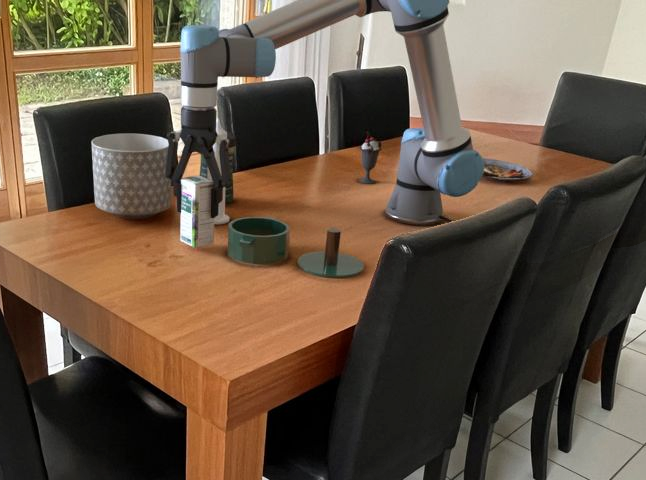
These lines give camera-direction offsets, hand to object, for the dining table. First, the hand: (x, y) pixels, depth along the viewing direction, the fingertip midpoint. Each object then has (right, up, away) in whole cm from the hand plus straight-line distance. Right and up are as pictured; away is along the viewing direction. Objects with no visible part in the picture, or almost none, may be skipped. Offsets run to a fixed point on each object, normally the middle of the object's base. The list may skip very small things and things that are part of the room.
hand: (197, 213), depth 167 cm
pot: (+13, -9, +2) cm, 16 cm away
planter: (-18, +4, +23) cm, 30 cm away
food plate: (+91, +29, +78) cm, 123 cm away
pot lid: (+29, -12, -3) cm, 32 cm away
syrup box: (0, -6, +3) cm, 7 cm away
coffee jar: (+2, +11, +37) cm, 38 cm away
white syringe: (+3, +3, +23) cm, 23 cm away
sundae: (+47, +23, +63) cm, 82 cm away
